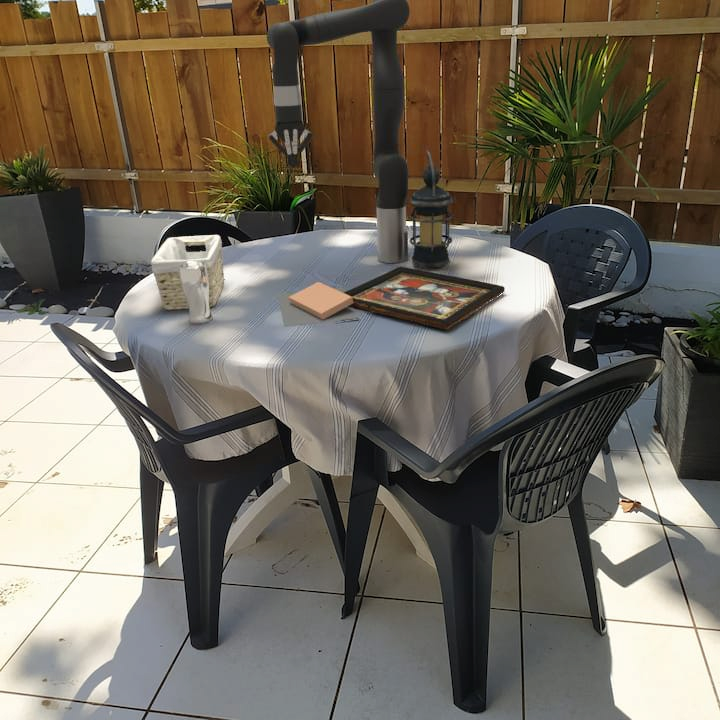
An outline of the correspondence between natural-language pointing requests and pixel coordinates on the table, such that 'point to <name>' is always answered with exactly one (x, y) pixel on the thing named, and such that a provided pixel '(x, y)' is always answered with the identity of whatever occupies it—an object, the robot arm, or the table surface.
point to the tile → (321, 300)
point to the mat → (299, 316)
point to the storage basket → (175, 254)
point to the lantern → (430, 220)
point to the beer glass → (196, 290)
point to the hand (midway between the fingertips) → (293, 167)
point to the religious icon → (423, 296)
